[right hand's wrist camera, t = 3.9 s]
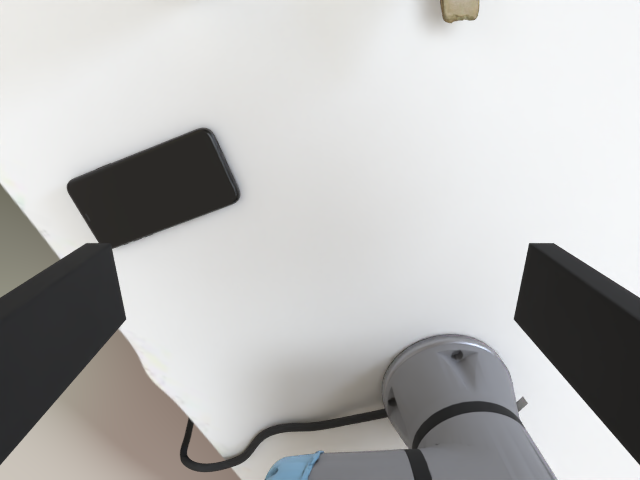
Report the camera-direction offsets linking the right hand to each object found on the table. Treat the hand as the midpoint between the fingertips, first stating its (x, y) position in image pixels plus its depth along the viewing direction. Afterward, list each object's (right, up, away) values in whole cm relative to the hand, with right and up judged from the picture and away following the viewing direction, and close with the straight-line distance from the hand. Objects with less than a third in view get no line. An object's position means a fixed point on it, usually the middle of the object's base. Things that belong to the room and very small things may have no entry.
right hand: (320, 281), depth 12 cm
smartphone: (-17, +6, +27) cm, 32 cm away
